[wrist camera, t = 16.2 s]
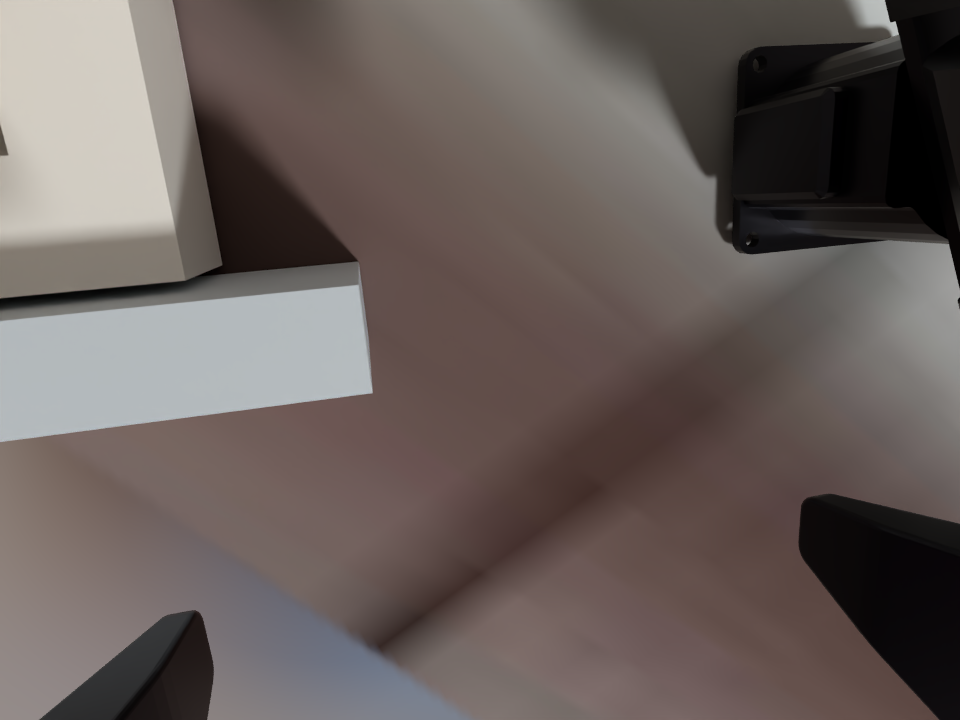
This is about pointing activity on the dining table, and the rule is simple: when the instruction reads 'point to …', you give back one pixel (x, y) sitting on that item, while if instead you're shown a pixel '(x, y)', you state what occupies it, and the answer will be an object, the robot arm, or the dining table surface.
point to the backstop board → (181, 349)
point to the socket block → (98, 149)
